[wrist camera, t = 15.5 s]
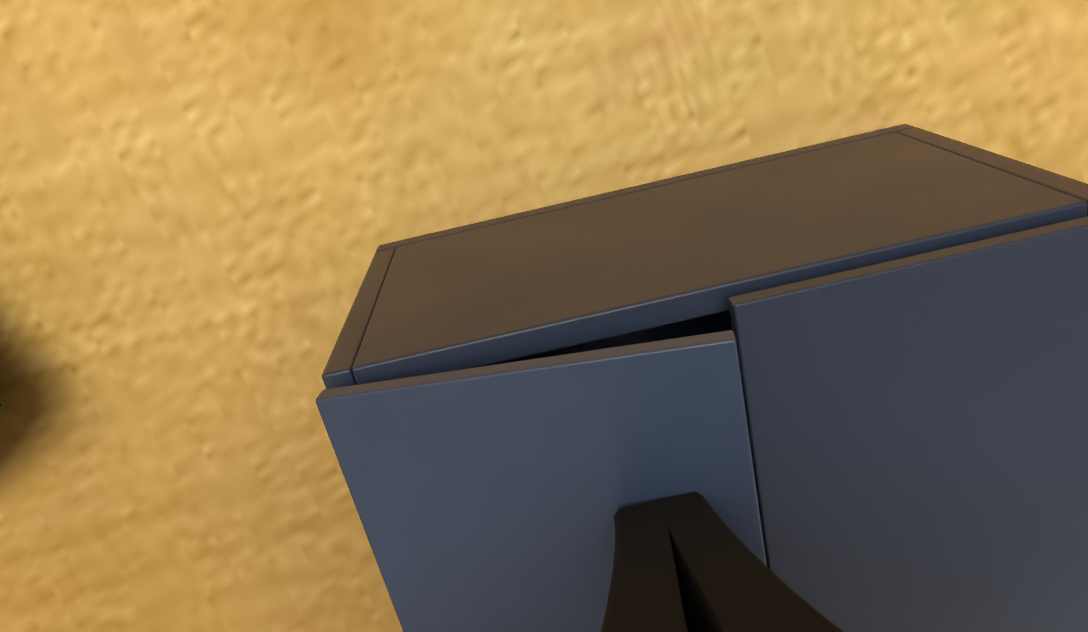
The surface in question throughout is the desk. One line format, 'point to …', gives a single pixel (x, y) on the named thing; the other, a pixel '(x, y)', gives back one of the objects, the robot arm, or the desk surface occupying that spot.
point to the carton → (820, 355)
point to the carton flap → (537, 475)
